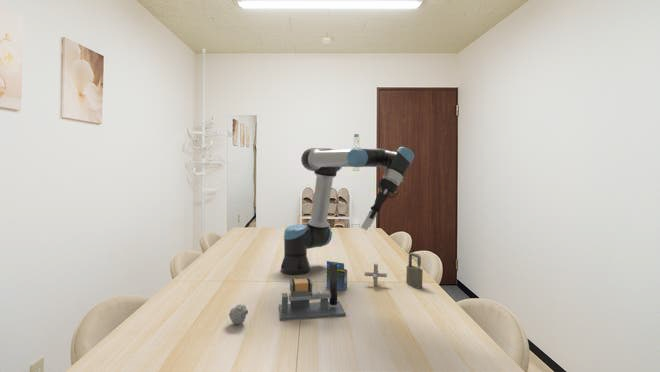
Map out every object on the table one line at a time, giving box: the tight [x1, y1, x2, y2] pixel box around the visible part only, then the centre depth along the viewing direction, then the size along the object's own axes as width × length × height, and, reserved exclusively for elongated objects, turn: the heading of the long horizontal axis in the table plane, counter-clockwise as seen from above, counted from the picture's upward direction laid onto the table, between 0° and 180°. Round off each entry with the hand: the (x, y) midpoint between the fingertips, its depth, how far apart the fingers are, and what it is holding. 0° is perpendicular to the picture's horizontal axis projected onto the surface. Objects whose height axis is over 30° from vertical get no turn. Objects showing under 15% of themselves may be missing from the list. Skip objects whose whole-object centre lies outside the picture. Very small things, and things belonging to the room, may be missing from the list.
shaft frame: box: [278, 276, 347, 321], centre depth 135 cm, size 24×12×12 cm, turn 100°
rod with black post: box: [288, 263, 338, 305], centre depth 135 cm, size 18×3×16 cm, turn 100°
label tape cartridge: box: [326, 260, 348, 291], centre depth 161 cm, size 9×4×12 cm, turn 65°
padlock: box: [405, 252, 424, 289], centre depth 165 cm, size 4×8×15 cm, turn 28°
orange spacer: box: [294, 279, 308, 292], centre depth 134 cm, size 5×5×5 cm
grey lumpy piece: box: [228, 304, 249, 326], centre depth 124 cm, size 6×7×7 cm
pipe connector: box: [364, 263, 388, 287], centre depth 165 cm, size 10×10×10 cm
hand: (365, 227), depth 143 cm, fingers open, 13 cm apart
